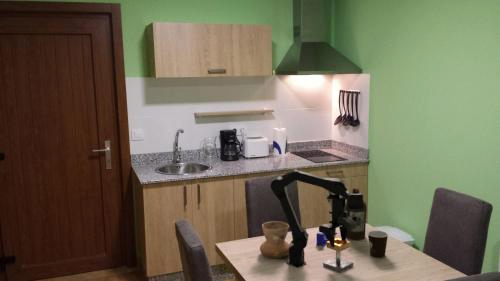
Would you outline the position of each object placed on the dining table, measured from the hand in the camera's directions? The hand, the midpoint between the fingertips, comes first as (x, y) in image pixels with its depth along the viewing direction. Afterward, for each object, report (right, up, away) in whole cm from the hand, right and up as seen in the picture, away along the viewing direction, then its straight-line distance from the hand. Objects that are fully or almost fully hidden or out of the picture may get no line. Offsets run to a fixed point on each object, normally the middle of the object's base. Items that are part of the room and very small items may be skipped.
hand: (338, 244), depth 192 cm
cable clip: (-1, -6, +30) cm, 31 cm away
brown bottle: (+16, -5, +35) cm, 39 cm away
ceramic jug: (-26, -8, +16) cm, 31 cm away
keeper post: (0, -9, +1) cm, 10 cm away
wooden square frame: (0, -1, 0) cm, 1 cm away
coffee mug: (+20, -7, +13) cm, 25 cm away
